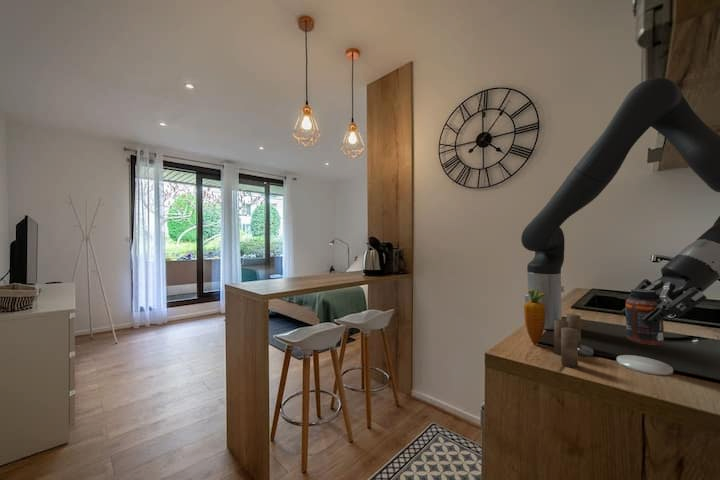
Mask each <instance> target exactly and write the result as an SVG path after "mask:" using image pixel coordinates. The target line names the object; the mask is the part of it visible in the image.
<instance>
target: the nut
mask: <svg viewBox="0 0 720 480" xmlns="http://www.w3.org/2000/svg"><path fill="white" fill-rule="evenodd" d="M578 356H583V357H594V349H593V348H592V347H591V346H590V347H589V346H587V345H584V344H581V345H578Z"/></svg>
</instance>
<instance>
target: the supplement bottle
mask: <svg viewBox="0 0 720 480" xmlns="http://www.w3.org/2000/svg"><path fill="white" fill-rule="evenodd" d="M630 293H631V295H632V296H631V297H630V298H629V297H628V298H627V299H626V300H625V307H626V317H625V325H626V326H625V327H626V337H627V339H628V340H630V341H631V342H634V343H638V344H642V345H649V346H660V345H662V344H664V341H665V335H664V333H665V330H664V318H663V319H662V320H661V321H660V322H659V323H658V324H656V325H655V326H653V327H649V326H647V325H646V324H645V323H644V322H643V321H642V320H641V319H642V318H643V317H644V316H645V315H646V314H647V313H649V312H650V311H651V310H652V309H653V308H657V305H658V303H659V301H657V299H656V291H654V290H647V289H635V288H632V289H630Z"/></svg>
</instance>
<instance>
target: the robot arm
mask: <svg viewBox="0 0 720 480" xmlns="http://www.w3.org/2000/svg"><path fill="white" fill-rule="evenodd" d="M650 128H652V129H654V130H655V131H657V132H658V133H659V134H660V135H662V136H663V137H664V138H665V139H666V140H667V141H668V142H669V143H670V144H671V145H672V146H673V147H674V149H675V150H676V151H677V152H678V154H679V155H680V157H681V158H682V159H683V160H684V161H685V163H686V164H687V166H688V167H689V168H690V169H691V170H692V171H693V173H695V174H696V175H697V177H698V178H700V180H701V181H703V182H704V183H705V184H706V186H708V187H709V188H710V189H711V190H713V191H714V192H716V193H720V134H719V133H717V132H716V131H715V130H714V129H712V128H711V127H710V126H709V125H707V123H705V122H704V121H703V120H702V119H701V118H700V116H699V115H698V114H696V112H695V111H694V110H693V108H692V107H691V106H690V103H688V101H687V100H686V98H685V97H684V95H683V92H682V89H681V87H680V86H679V85H678V84H677V83H675V82H674V81H673V80H671V79H669V78H667V77H659V76H658V77H652V78H649V79H647V80H644V81H642V82H641V83H639V84H637V85H635V86H634V87H633V88H632V89H631V90H630V91H629V92H628V94H627V95H626V96H625V98H624V100H623V101H622V103H621V104H620V106H619V107H618V109H617V111H616V112H615V114H614V115H613V117H612V118H611V120H610V122H609V124H608V125H607V126H606V128H605V129H604V131H603V132H602V134H601V135H600V136H599V137H598V138H597V139H596V140H595V142H594V143H593V144H592V145H591V146H590V147H589V149H588V150H587V151H586V153H585V154H584V156H583V157H581V159H580V160H579V161H578V163H577V164H576V165H575V166H574V167H573V169H572V170H571V171H570V173H569V174H568V176H567V177H566V178H565V179H564V181H563V183H562V184H561V185H560V186H559V188H558V189H557V190H556V191H555V193H554V194H553V195H552V196H551V198H550V199H549V201H548V202H547V203H546V204H545V206H544V207H543V208H542V209H541V211H540V212H538V214H537V215H536V216H535V217H534V218H532V220H531V221H530V222H529V223H528V224H526V226H525V227H524V229H523V230H522V234H521V239H520V240H521V243H522V246H523V248H525V250H527V251H530V252H534V256H533V258H532V260H530V261H529V262H528V263H527V267H526V271H527V273H526V274H527V275H526V276H527V277H526V278H527V293H526V294H525V295H524V304H525V303H526V302H529V301H531V297H530V294H529V292H528V291H530V290H531V289H533V290H534V297H535V294H536V291H537V290H539V293H538V296H539V295H540V294H541V293H544V294H545V295H544V296H542V297H541V298H540V299H539V300H538V302H540V303H542V304H543V305H544V306H545V325H544V330H553V331H554V320H557V319H558V320H563V319H562V318H563V317H562V314H563V313H562V267H563V265H564V261H565V243H566V242H565V235H564V231H563V229H562V228H561V227H562V225H563V223H565V221H566V220H568V219H569V218H570V217H572V216H573V215H575V214H576V213H577V212H578V211H579V212H580V210H582V209H584V207H586V206H588V205H589V204H590V203H591V202H593V201H594V200H595V199H596V198H597V197H598V196H600V194H601V193H602V192H603V191H604V190H605V189H606V187H607V186H608V185H609V184H610V182H612V180H613V179H614V178H615V176H616V175H617V174H618V172H619V170H620V169H621V167H622V165H623V163H624V162H625V160H626V158H627V155H628V154H629V152H630V151H631V149H632V148H633V146H635V144H636V143H637V142H638V141H639V139H640V138H641V137H642V136H644V134H645V133H646V132H647V131H648V130H649V129H650ZM660 271H661V277H660V278H658V279H655V280H654V281H650V280H649V279H646V278H645V279H643V280H641V282H639V284H638V285H637V286H636V287H635V288H634V289H647V290H654V291H656V299H657V301H659V303H658V305H657V308H653V309H652V310H651V311H650V312H649V313H647V314H646V315H645V316H644V317H643V318H642V319H641V320H642V321H643V322H644V323H645V324H646V325H647V326H649V327H653V326H655V325H656V324H658V323H659V322H660V321H661V320H662V319H663V320H664V318H666V317H671V316H673V315H675V316H677V317H681V316H683V315H684V314H686V313H688V312H689V311H690V310H692V309H693V308H694V307H696V306H698V305H699V304H701V303H702V302H703V301H705V300H706V299H707V296H706V295H705V294H704V293H703V292H704V291H706V290H707V289H708V288H710V287H711V286H712V285H713V284H714V283H716V282H717V280H719V279H720V215H719V216H718V217H717V219H716V220H715V222H714V223H713V225H712V226H711V227H710V228H708V229H707V230H706V231H704V232H703V233H702V234H701V235H699V237H698V238H697V239H696V240H695V241H693V242H691V243H690V244H688V245H687V246H685V247H684V248H683V249H682V250H680V252H678V253H677V254H676V255H675V256H674V257H673V258H672V259H671V260H669V261H668V262H666V264H664V266H663V267H661V268H660ZM631 296H632V295H631V292H630V294H629V295H628V299H629V298H630V297H631ZM681 305H683V306H682V307H681ZM620 314H622V316H624V317H625V318H626V306H625V307H624V308H622V310H621V311H620Z"/></svg>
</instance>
